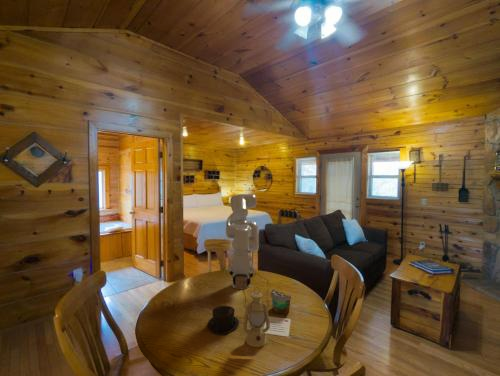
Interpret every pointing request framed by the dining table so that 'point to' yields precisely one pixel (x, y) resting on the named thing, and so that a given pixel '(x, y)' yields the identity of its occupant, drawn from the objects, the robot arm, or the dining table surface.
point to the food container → (280, 302)
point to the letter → (278, 326)
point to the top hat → (223, 320)
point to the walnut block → (241, 281)
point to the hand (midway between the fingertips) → (241, 284)
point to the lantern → (256, 320)
